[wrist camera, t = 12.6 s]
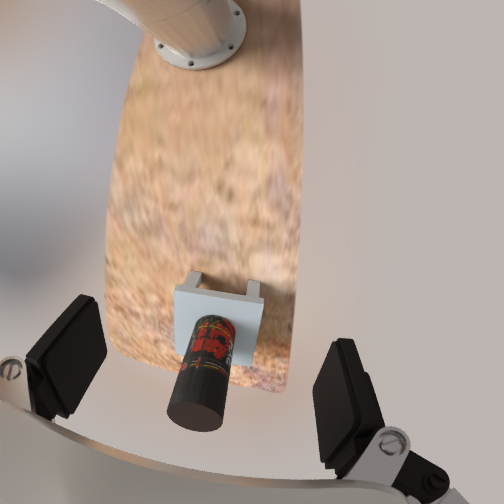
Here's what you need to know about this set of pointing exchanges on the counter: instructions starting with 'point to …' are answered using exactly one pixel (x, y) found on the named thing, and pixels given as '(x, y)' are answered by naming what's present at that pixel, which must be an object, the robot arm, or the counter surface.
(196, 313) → the pale blue square tabletop
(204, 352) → the deodorant
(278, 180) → the counter surface
